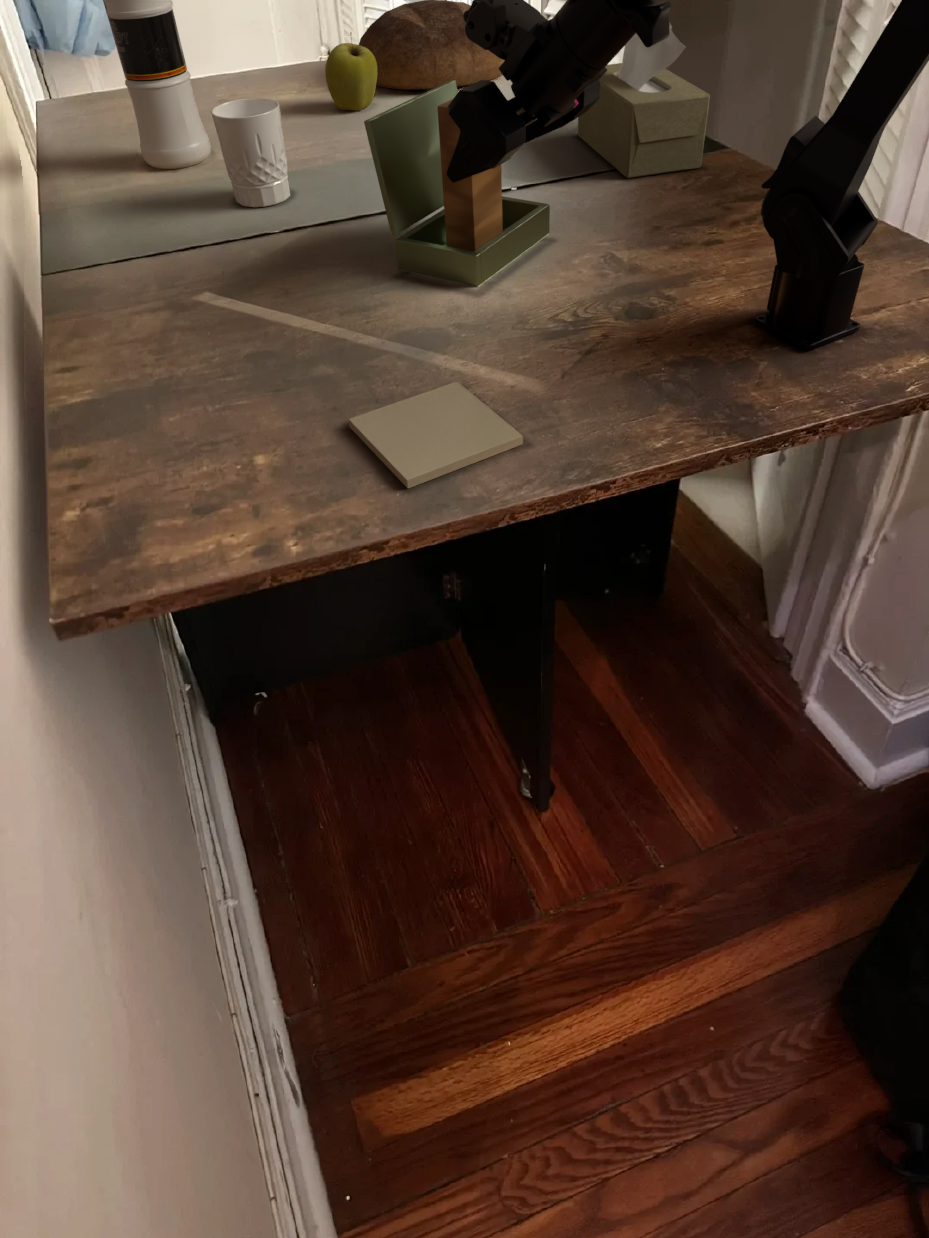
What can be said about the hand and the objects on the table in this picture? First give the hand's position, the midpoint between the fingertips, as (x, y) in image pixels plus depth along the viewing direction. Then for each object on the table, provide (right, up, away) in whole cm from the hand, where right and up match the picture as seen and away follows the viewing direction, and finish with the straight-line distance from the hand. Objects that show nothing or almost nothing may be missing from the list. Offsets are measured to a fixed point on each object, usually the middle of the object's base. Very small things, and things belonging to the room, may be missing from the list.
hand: (475, 163), depth 85 cm
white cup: (-26, +8, +23) cm, 36 cm away
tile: (-3, -30, -17) cm, 35 cm away
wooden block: (0, -6, +6) cm, 9 cm away
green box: (0, -6, +7) cm, 9 cm away
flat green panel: (-5, +2, +2) cm, 6 cm away
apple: (-18, +34, +50) cm, 63 cm away
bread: (-6, +47, +62) cm, 78 cm away
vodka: (-41, +19, +36) cm, 57 cm away
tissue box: (+21, +16, +28) cm, 39 cm away
